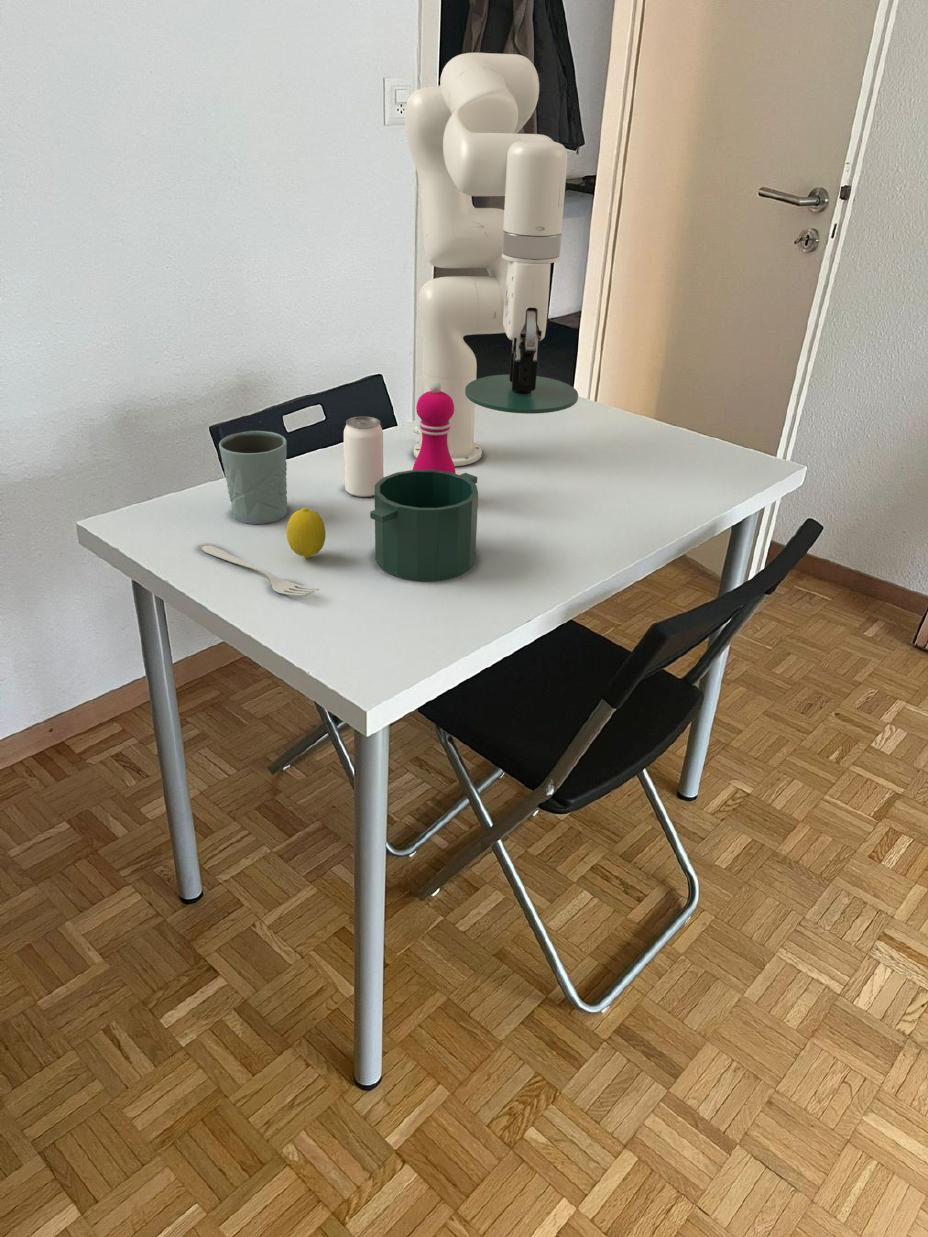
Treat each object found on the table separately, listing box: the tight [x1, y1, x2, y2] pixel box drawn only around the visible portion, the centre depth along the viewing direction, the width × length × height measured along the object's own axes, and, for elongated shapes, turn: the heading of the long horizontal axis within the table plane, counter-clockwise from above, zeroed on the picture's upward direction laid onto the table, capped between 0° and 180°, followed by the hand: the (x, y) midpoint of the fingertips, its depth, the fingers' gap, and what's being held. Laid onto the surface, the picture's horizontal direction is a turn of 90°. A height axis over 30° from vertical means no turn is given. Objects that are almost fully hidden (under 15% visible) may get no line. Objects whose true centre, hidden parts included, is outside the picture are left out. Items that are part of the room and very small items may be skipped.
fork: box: [201, 544, 321, 596], centre depth 138 cm, size 3×24×2 cm, turn 49°
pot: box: [369, 469, 479, 582], centre depth 141 cm, size 15×20×11 cm
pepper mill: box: [412, 382, 457, 474], centre depth 157 cm, size 7×7×20 cm
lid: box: [465, 350, 579, 415], centre depth 135 cm, size 16×16×7 cm
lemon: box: [286, 506, 327, 560], centre depth 141 cm, size 6×6×8 cm
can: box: [343, 416, 384, 498], centre depth 162 cm, size 6×6×12 cm
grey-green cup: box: [218, 430, 288, 525], centre depth 153 cm, size 10×10×12 cm
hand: (522, 384), depth 136 cm, fingers closed on lid, 2 cm apart
